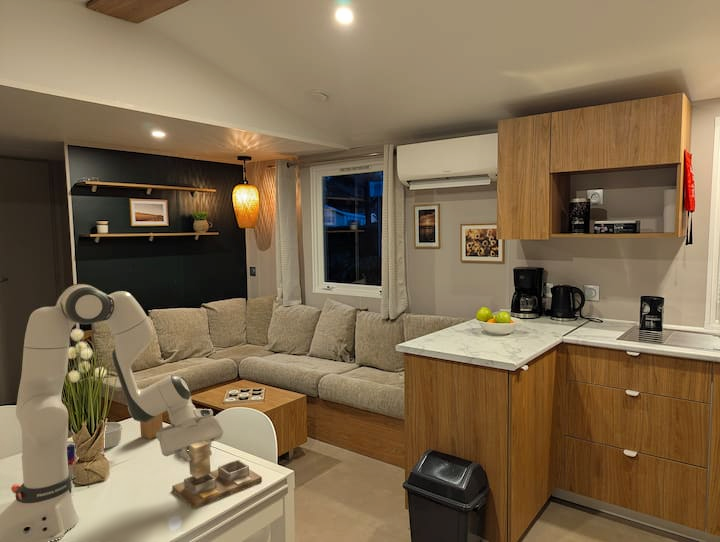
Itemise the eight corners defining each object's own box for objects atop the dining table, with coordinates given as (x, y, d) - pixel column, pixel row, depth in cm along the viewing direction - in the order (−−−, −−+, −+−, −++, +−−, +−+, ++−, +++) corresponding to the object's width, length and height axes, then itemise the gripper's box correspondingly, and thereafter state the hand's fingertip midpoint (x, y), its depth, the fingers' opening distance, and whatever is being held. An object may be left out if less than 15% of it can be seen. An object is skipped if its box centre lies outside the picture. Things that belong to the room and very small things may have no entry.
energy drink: (70, 482, 173) (67, 448, 172) (56, 480, 174) (54, 447, 174) (81, 474, 179) (79, 441, 178) (68, 473, 180) (66, 440, 179)
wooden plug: (196, 478, 160) (194, 448, 160) (190, 473, 164) (188, 444, 163) (210, 473, 164) (208, 443, 163) (203, 468, 167) (202, 439, 166)
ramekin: (116, 435, 214) (115, 419, 214) (127, 444, 205) (126, 427, 204) (82, 445, 205) (80, 428, 204) (92, 454, 195) (91, 437, 195)
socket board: (193, 508, 154) (193, 494, 154) (172, 490, 166) (171, 477, 166) (261, 481, 170) (261, 468, 170) (237, 466, 182) (237, 454, 182)
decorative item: (154, 431, 217) (152, 385, 216) (163, 434, 213) (161, 388, 212) (140, 436, 212) (137, 389, 210) (149, 439, 208) (146, 392, 207)
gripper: (156, 425, 160) (170, 464, 154) (216, 408, 174) (231, 443, 168) (152, 434, 164) (166, 473, 158) (210, 417, 178) (225, 452, 172)
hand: (200, 458), depth 163 cm, fingers closed on wooden plug, 5 cm apart
